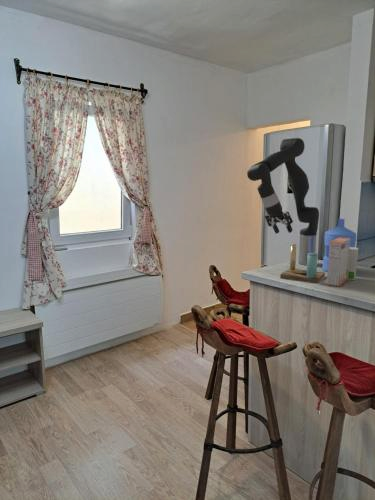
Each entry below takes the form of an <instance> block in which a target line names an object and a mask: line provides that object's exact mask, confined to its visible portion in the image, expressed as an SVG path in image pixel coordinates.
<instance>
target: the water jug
mask: <svg viewBox="0 0 375 500" xmlns="http://www.w3.org/2000/svg"><path fill="white" fill-rule="evenodd" d="M337 220H338V222H337V226H336V227H334V228H332V229H329V230H327V231H325V232H324V245H325V249H324V256H323V259H322V260H323V261H322V270H323V271H324V272H327V273H328V263H329V244H330V241H333V240H335V239H337V238H350V239H351V242H350V247H355V248H356V242H357V233H356V232H355V231H353V230H351V229H349V228H347V227H346V226H345V218H338V219H337Z"/></svg>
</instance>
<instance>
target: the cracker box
mask: <svg viewBox="0 0 375 500" xmlns="http://www.w3.org/2000/svg"><path fill="white" fill-rule="evenodd" d="M350 242H351V239H350V238H337V239H335V240H333V241H330V244H329V254H328V255H329V263H328V272H327V286H333V287H341V286H342V285H343V284H345V283H346V282H348V281H349V280H348V273H349V257H350Z"/></svg>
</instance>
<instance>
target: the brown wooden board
mask: <svg viewBox="0 0 375 500" xmlns="http://www.w3.org/2000/svg"><path fill="white" fill-rule="evenodd" d="M295 270H301V269H300V268H299V269H298V268H295ZM279 275H280V276H279V278H280V279H285V280H291V281H299V282H307V283H313V284H318V283H319V282H320V281H321V280H322V279H324V278H325V277H326V272H325V271H324V272H323V271H317V274H316V278H307V277H306V274H303V273H296V272H292V270H290V268H288V269H286V270H285V271H283V272H282V273H280V274H279Z"/></svg>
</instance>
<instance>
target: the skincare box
mask: <svg viewBox="0 0 375 500" xmlns="http://www.w3.org/2000/svg"><path fill="white" fill-rule="evenodd" d="M358 256H359V247H356V246H355V247H350V257H349V273H348V280H347V281H355V280H356V274H357V267H358V259H359V258H358Z"/></svg>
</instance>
